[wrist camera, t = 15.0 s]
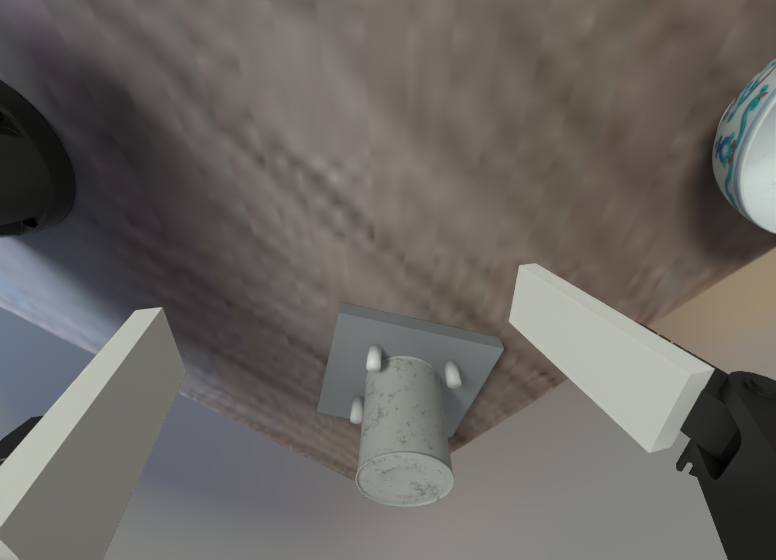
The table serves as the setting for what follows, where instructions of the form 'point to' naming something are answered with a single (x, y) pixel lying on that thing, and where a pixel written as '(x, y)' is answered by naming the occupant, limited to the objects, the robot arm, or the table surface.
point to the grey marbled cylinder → (404, 436)
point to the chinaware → (750, 150)
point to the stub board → (403, 338)
